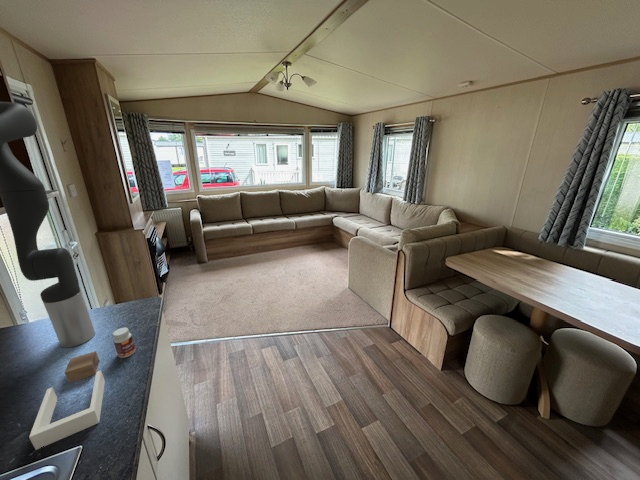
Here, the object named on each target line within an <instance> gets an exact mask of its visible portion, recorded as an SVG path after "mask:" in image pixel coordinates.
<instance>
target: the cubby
mask: <svg viewBox="0 0 640 480" xmlns="http://www.w3.org/2000/svg"><path fill="white" fill-rule="evenodd" d="M105 380H106V379H105V377H104V374H103V373H102V370H101V369H100V370H98V371H96V374H95V379H94V383H93V390H92V394H91V400H90V404H89V408H86V409H84V410H82V411H79V412H76V413H73V414H71V415H68V416H66V417H63V418H61V419H59V420H56V421H54V422H51V421H52V417H53V414H54V411H55V408H56V406H57V402H58V397H57V394H56V393H55V389H54V387H50V388H47V389H46V392H45V393H44V396H43V398H42V399H43V400H42V402H41V404H40V407H39V409H38V412H37V415H36V417H35V420H34V423H33V426H32V428H31V431H30V434H29V440H30V442H31V444H32V446H33V448H34V449H35V451H37V450H40V449H41V447H42V448H44V447H46V446H48V445H51V444H53V443H55V442H58V441H60V440H63V439H65V438H68V437H69V436H72V435H74V434H76V433H78V432H81V431H83V430H85V429H88V428H90V427H93V426H94V425H96V424H99V423H100V420H101V413H102V406H103V398H104V391H105V383H106V381H105ZM43 446H44V447H43Z"/></svg>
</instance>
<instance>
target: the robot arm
mask: <svg viewBox="0 0 640 480" xmlns="http://www.w3.org/2000/svg"><path fill="white" fill-rule="evenodd" d="M37 129H38V124H37V121H36V118H35V116H34V114H33V113H32V112H31V111H30V109H29V108H27V107H26V106H24V105H22V104H21V103H17V102H12V101H11V102H10V101H0V199H1V203H2V205H3V207H4V210H5V213H6V216H7V219H8V222H9V224H10V227H11V232H12V235H13V240H14V245H15V250H16V256H17V262H18V265H19V269H20V272H21V273H22V275H23V277H24V278H25V279H26V280H28V281H33V282H35V281H42V280H48V279H49V280H50V279H54V278H55V279H56V278H57V283H54V284H52V285H50V286H48V287H46V288H44V289H43V290H42V291H40V294H39V295H40V298H41V301H42V303H43V306H44V308H45V311H46V313H47V316H48V318H49V321H50V322H51V325H52V328H53V329H54V332H55V335H56V338H57V340H58V342H59V345H60V347H61V348H72V347H76V346H80V345H82V344H84V343H86V342H88V341H89V340H91V339H92V338H93V337H95V334H96V331H95V328H94V325H93V322H92V319H91V316H90V313H89V311H88V307H87V305H86V303H85V299H84V296H83V293H82V290H81V288H80V283H79V279H78V276H77V272H76V269H75V267H76V266H75V265H74V260H73V258H72V255H71V253H70V251H69V250H68V249H67V248H64V247H56V248H47V249H39V247H38V243H37V241H38V240H37V237H38V231H40V230H39V229H40V227H41V226H42V223H43V222H44V220H45V218H46V216H47V214H48V212H49V209H50V202H49V199H48V195H47V192H46V187H45V185H44V184H43V182H42V181H41V179H39V178H38V177H37V176H36V175H35V174H34V173H33V172H32V171H31V170H29V169H28V167H26V166H25V165H24V164H23V163H21V161H20V160H18V159H17V158H16V156H15V155H14V154H13V151H12V150H11V148H10V146H9V144H8V143H9V142H12V141H16V140H20V139H23V138H24V139H26V138H29V137H32V136H35V134H36V133H37V131H38V130H37Z"/></svg>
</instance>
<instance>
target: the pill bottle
mask: <svg viewBox="0 0 640 480" xmlns="http://www.w3.org/2000/svg"><path fill="white" fill-rule="evenodd" d="M112 337H113V340H112V341H113V345H114V348H115V351H116V353H117V356H118V357H119V358H121V359H124V358H128V357H130V356H132V355H134V353H135V352H136V346H135V343H134V338H133V335H132V333H131V332H130V330H129V328H128V327H120V328H118V329H116V330H114V331H113V332H112Z"/></svg>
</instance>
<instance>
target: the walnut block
mask: <svg viewBox="0 0 640 480" xmlns="http://www.w3.org/2000/svg"><path fill="white" fill-rule="evenodd" d="M99 363H100V358H99V356H98V353H97V351H96V350H95V351H91V352H88V353H84V354H82V355H78V356H75V357H71V358H70V359H69V360H68V363H67V365H66V367H65V370H64V374H65V378H66V380H67V383H72V382H78V381H79V380H82V379H86V378H89V377H92V376H94V375H95V376H96V372H97V370H98V368H99Z"/></svg>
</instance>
